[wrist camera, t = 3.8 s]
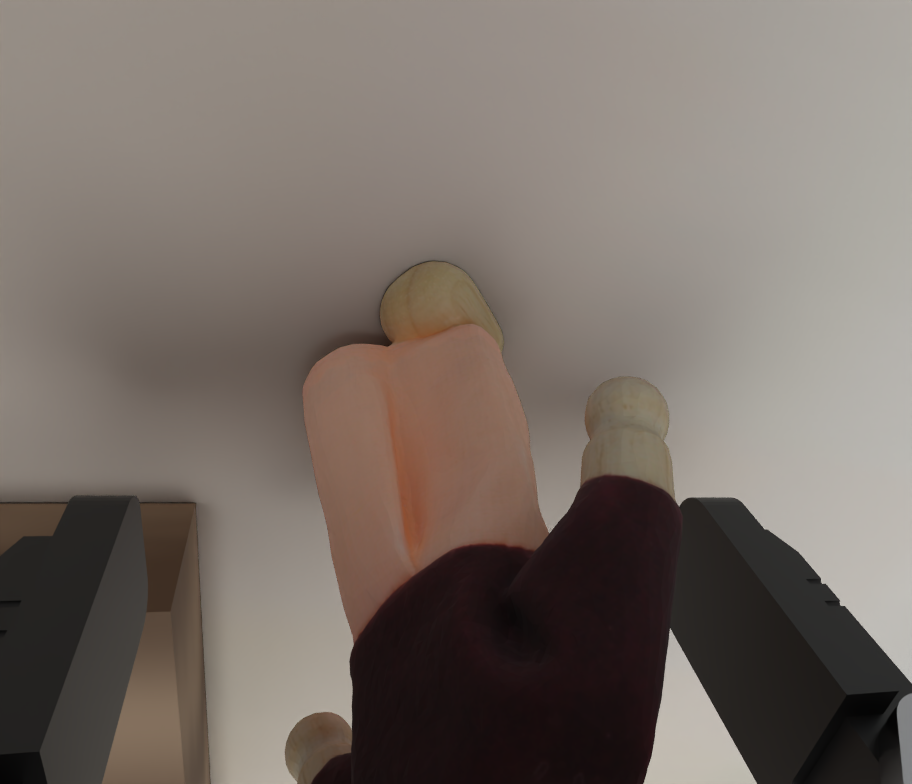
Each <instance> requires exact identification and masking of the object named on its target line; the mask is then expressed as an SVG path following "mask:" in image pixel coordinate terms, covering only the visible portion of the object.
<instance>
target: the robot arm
mask: <svg viewBox="0 0 912 784" xmlns="http://www.w3.org/2000/svg"><path fill="white" fill-rule="evenodd" d="M679 508H680V511H681V513H682V516H683V524H682V540H681V546H680V551H679V557H678V562H677V573H676V584H675V592H674V599H673V606H672V614H671V622H670V628H671V630H672V632H673V634H674V636H675V637H676V639H677V641H678V643H679V644H680V646H681V648H682V650H683V652H684V653H685V655H686V657H687V659H688V661H689V662H690V664H691V666H692V668H693V670H694V671H695V673H696V675H697V677H698V678H699V680H700V682H701V684H702V686H703V687H704V689H705V691H706V693H707V695H708V696H709V698H710V700H711V702H712V704H713V705H714V707H715V709H716V711H717V712H718V714H719V716H720V718H721V720H722V721H723V723H724V725H725V727H726V729H727V730H728V732H729V734H730V736H731V738H732V739H733V741H734V743H735V745H736V746H737V748H738V750H739V752H740V754H741V755H742V757H743V759H744V761H745V763H746V764H747V766H748V768H749V770H750V772H751V773H752V775H753V777H754V779H755V780H756V782H757V784H912V684H911V682H910V681H909V680H908V679H907V678H906V677H905V675H904V674H903V673H902V672H901V671H900V670H899V669H898V667H897V666H896V665H895V664H894V663H893V662H892V660H891V659H890V658H889V657H888V656H887V655H886V653H885V652H884V651H883V650H882V649H881V648H880V646H879V645H878V644H877V643H876V642H875V641H874V639H873V638H872V637H871V636H870V635H869V634H868V633H867V631H866V630H865V629H864V628H863V627H862V626H861V624H860V623H859V622H858V621H857V620H856V619H855V617H854V616H853V615H852V614H851V613H850V612H849V610H848V609H847V608H846V607H845V606H840V603H839V602H840V600H839V599H838V598H837V597H836V595H835V594H834V593H833V592H832V591H831V590H830V588H829V587H828V586H827V585H826V584H822V583H821V578H820V577H819V576H818V575H817V573H816V572H815V571H814V570H813V569H812V568H811V566H810V565H809V564H808V563H807V562H806V561H805V559H804V558H803V557H802V556H801V555H800V554H799V552H797V551H796V550H795V549H793V548H792V547H790V546H789V545H788V544H786V543H785V542H784V541H782V540H781V539H779V538H778V537H777V536H775V535H774V534H773V533H771V532H770V531H769V530H765V529H764V528H763V527H762V526H761V525H760V523H759V522H758V521H757V520H756V519H755V517H754V516H753V515H752V514H751V513H750V512H749V510H748V509H747V508H746V507H745V506H744V504H743V503H742V502H741V501H739V500H738V499H735V498H687V499H686V500H684V501H683V502H682V503H681V505H680V507H679ZM147 600H148V577H147V567H146V557H145V548H144V538H143V528H142V518H141V509H140V503H139V500H138V498H137V496H74V497H72V498H71V500H70V501H69V503H68V504H67V507H66V509H65V511H64V513H63V515H62V517H61V519H60V521H59V523H58V525H57V527H56V529H55V532H54V534H53V536H23V537H22V538H21V539H20V540H18V541H17V542H16V543H15V544H14V545H12V546H11V547H10V548H9V549H8V550H7V551H5V552H4V553H3V554H2V555H1V556H0V784H102V781H103V777H104V773H105V770H106V766H107V762H108V759H109V755H110V751H111V747H112V744H113V740H114V736H115V732H116V729H117V725H118V721H119V717H120V714H121V710H122V706H123V702H124V699H125V695H126V691H127V687H128V684H129V680H130V676H131V672H132V669H133V665H134V661H135V658H136V654H137V650H138V646H139V643H140V639H141V635H142V631H143V627H144V623H145V617H146V610H147Z"/></svg>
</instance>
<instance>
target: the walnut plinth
mask: <svg viewBox="0 0 912 784" xmlns="http://www.w3.org/2000/svg"><path fill="white" fill-rule="evenodd" d="M66 507H67V504H0V556H1V555H2V554H3V553H4V552H5V551H7V550H8V549H9V548H10V547H11V546H12V545H14V544H15V543H16V542H17V541H18V540H20V539H21V538H22V537H23V536H53V534H54V532H55V529H56V527H57V525H58V523H59V521H60V519H61V517H62V515H63V513H64V511H65V509H66ZM140 509H141V518H142V528H143V538H144V548H145V557H146V567H147V577H148V600H147V610H146V617H145V623H144V627H143V631H142V635H141V639H140V643H139V646H138V650H137V654H136V658H135V661H134V665H133V669H132V672H131V676H130V680H129V684H128V687H127V691H126V695H125V699H124V702H123V706H122V710H121V714H120V717H119V721H118V725H117V729H116V732H115V736H114V740H113V744H112V747H111V751H110V755H109V759H108V762H107V766H106V770H105V773H104V777H103V781H102V784H210V766H209V748H208V729H207V710H206V692H205V673H204V654H203V636H202V617H201V599H200V580H199V561H198V543H197V524H196V505H195V503H140Z"/></svg>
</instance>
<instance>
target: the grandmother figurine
mask: <svg viewBox="0 0 912 784" xmlns="http://www.w3.org/2000/svg"><path fill="white" fill-rule="evenodd" d="M380 320H381V326H382V328H383V330H384V332H385V334H386V335H387V337H388V338H389V340H390V341H391V342H392V344H391V345H390V346H388V347H385V346H382V345H373V344H351V345H347V346H343V347H339V348H337V349H336V350H334V351H332V352H331V353H329V354H328V355H326V356H325V357H323V358H322V359H320V360H319V361H317V362H316V364H315V365H314V366H313V367H312V369H311V370H310V372H309V374H308V376H307V378H306V380H305V383H304V385H303V391H302V394H303V405H304V421H305V427H306V432H307V437H308V442H309V447H310V452H311V457H312V463H313V468H314V473H315V478H316V484H317V489H318V494H319V497H320V501H321V504H322V508H323V512H324V516H325V519H326V523H327V529H328V534H329V541H330V548H331V554H332V560H333V564H334V568H335V572H336V576H337V581H338V585H339V589H340V594H341V599H342V603H343V607H344V610H345V614H346V617H347V620H348V623H349V626H350V629H351V632H352V635H353V641H354V646H353V649H352V652H351V657H350V675H351V678H352V686H353V695H352V730H351V728H350V726H349V725H348V723H347V722H346V721H345V720H344V719H343V718H342V717H340V716H339V715H337V714H334V713H331V712H322V713H314V714H312V715H309V716H307V717H305V718H303V719H302V720H300V721H299V722H298V723H297V724H296V725H295V727H294V728H293V729H292V731H291V732H290V734H289V737H288V739H287V742H286V748H285V760H286V765H287V768H288V770H289V772H290V774H291V775H292V776H293V777H294V779H295V780H296V781H297V784H643V783H644V780H645V776H646V773H647V768H648V765H649V762H650V759H651V755H652V750H653V744H654V738H655V729H656V723H657V718H658V712H659V708H660V703H661V697H662V689H663V681H664V671H665V662H666V655H667V648H668V640H669V631H670V622H671V614H672V606H673V599H674V592H675V584H676V573H677V562H678V557H679V551H680V546H681V540H682V524H683V516H682V513H681V511H680V508H679V506H678V505H677V503H676V500H675V495H674V484H673V470H672V461H671V456H670V452H669V449H668V447H667V446H666V444H665V443H664V441H663V440H664V438H665V437H666V435H667V431H668V426H669V412H668V407H667V403H666V401H665V399H664V397H663V396H662V394H661V393H660V392H659V390H658V389H657V388H656V387H655V386H653V385H652V384H651V383H649V382H648V381H646V380H643V379H641V378H636V377H617V378H613V379H610V380H608V381H606V382H603V383H602V384H601V385H600V386H598V387H597V388H596V390H595V391H594V392H593V393H592V394H591V396H590V397H589V398H588V402H587V405H586V411H585V426H586V431H587V433H588V435H589V438H590V442H589V443H588V444H587V446H586V448H585V450H584V452H583V456H582V466H581V484H580V489H579V491H578V492H577V495H576V497H575V500H574V502H573V504H572V506H571V507H570V509H569V510H568V512H567V513H566V514H565V516H564V517H563V518H562V519H561V520H560V521H559V522H558V523H557V525H556V526H555V527H554V529H553V530H552V531H551V532H550V534H549V532H548V530H547V527H546V525H545V522H544V520H543V518H542V516H541V513H540V510H539V505H538V499H537V487H536V479H535V471H534V465H533V460H532V456H531V452H530V436H529V430H528V425H527V421H526V417H525V414H524V410H523V408H522V405H521V402H520V399H519V396H518V394H517V391H516V388H515V386H514V383H513V381H512V379H511V377H510V375H509V373H508V371H507V369H506V366H505V364H504V362H503V359H502V355H501V353H502V349H503V345H504V339H503V335H502V331H501V329H500V327H499V325H498V323H497V321H496V319H495V318H494V316H493V314H492V312H491V311H490V309H489V307H488V306H487V304H486V302H485V300H484V299H483V297H482V295H481V294H480V292H479V290H478V289H477V287H476V286H475V284H474V282H473V281H472V280H471V279H470V277H469V276H468V275H467V274H466V273H465V272H464V271H463V270H461V269H460V268H458V267H456V266H454V265H451V264H449V263H447V262H435V261H431V262H426V263H422V264H419V265H417V266H414V267H413V268H411V269H410V270H408V271H407V272H405V273H404V274H403V275H401V276H400V277H399V278H398V279H397V280H396V281H395V282H394V283H393V284H391V286H390V287H389V288H388V289H387V291H386V293H385V294H384V297H383V300H382V302H381V308H380Z"/></svg>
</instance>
